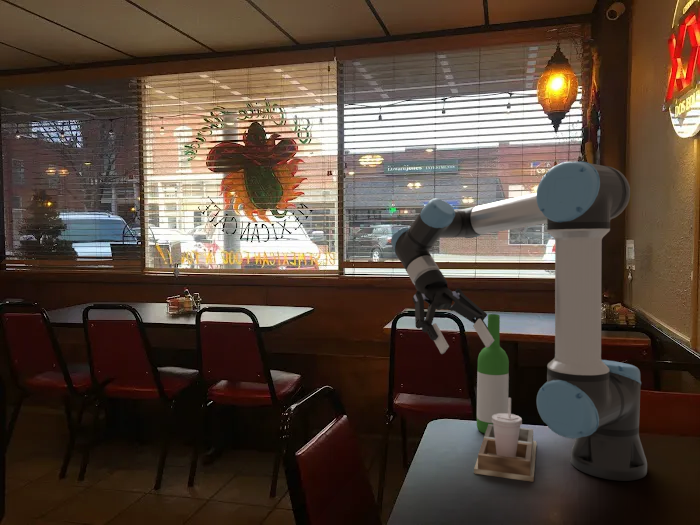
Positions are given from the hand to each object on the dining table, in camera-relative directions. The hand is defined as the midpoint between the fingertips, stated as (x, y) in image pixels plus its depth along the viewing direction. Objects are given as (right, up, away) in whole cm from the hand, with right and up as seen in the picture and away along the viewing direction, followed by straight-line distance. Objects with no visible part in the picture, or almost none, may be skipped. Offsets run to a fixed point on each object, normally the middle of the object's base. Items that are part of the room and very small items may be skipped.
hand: (468, 347), depth 131 cm
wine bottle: (+9, -24, +16) cm, 30 cm away
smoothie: (+7, -24, -7) cm, 26 cm away
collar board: (+8, -25, -2) cm, 26 cm away
